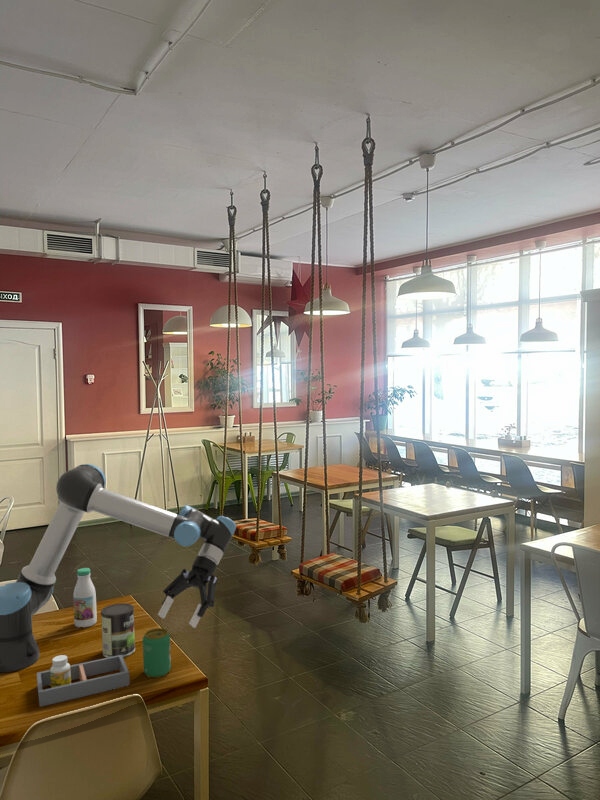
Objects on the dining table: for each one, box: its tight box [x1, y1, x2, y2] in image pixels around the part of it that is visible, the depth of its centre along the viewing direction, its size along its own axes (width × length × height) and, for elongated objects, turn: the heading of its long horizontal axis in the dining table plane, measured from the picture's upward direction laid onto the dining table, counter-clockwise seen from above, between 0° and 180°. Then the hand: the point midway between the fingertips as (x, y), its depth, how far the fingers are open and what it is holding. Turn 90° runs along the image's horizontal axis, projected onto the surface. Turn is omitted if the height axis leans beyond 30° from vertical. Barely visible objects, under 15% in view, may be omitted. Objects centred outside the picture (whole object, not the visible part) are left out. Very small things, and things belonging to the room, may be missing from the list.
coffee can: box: [100, 603, 136, 658], centre depth 199 cm, size 10×10×14 cm
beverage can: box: [142, 627, 172, 678], centre depth 184 cm, size 8×8×12 cm
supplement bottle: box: [49, 654, 72, 688], centre depth 174 cm, size 5×5×10 cm
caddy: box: [36, 655, 131, 708], centre depth 177 cm, size 12×24×4 cm, turn 116°
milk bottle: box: [72, 567, 98, 628], centre depth 222 cm, size 8×8×20 cm
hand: (176, 621), depth 190 cm, fingers open, 13 cm apart
